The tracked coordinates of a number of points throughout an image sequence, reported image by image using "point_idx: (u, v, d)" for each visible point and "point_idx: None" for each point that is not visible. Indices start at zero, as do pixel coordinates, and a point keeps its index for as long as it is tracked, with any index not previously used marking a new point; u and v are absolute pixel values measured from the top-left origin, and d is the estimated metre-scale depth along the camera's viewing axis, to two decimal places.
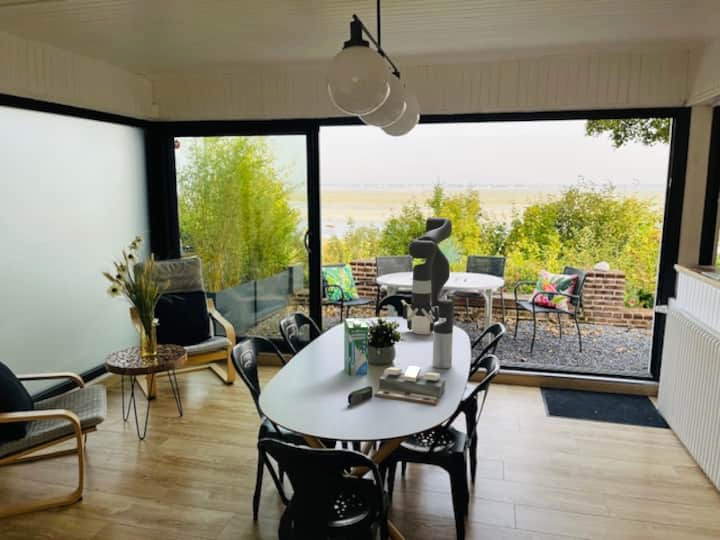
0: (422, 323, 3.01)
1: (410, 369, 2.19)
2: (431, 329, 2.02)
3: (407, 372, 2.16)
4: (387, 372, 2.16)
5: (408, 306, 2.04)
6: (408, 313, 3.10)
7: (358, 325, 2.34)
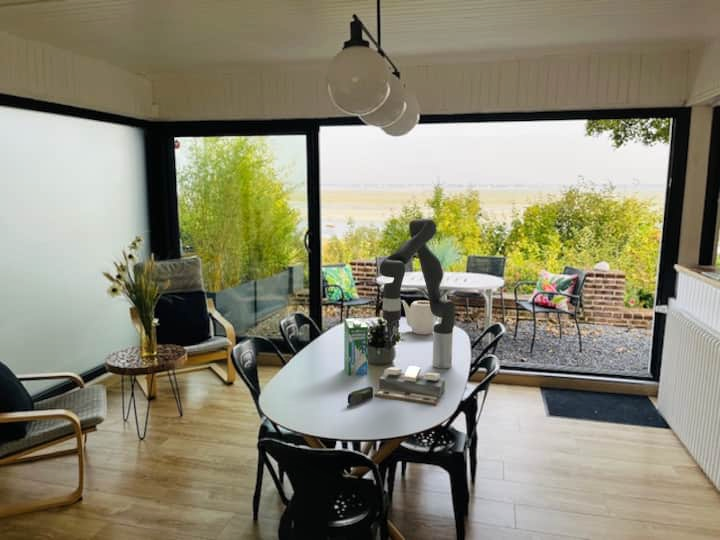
0: (422, 323, 3.01)
1: (410, 369, 2.19)
2: None
3: (407, 372, 2.16)
4: (387, 372, 2.16)
5: None
6: (408, 313, 3.10)
7: (358, 325, 2.34)
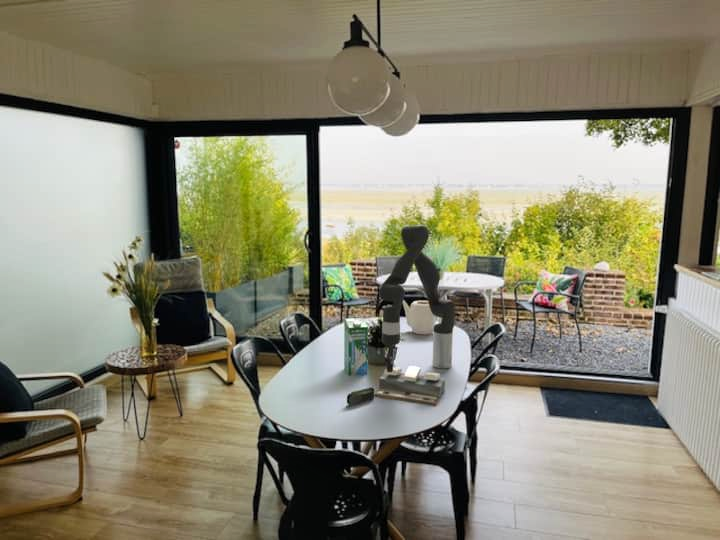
0: (422, 323, 3.01)
1: (410, 369, 2.19)
2: None
3: (407, 372, 2.16)
4: (387, 373, 2.16)
5: (388, 353, 2.10)
6: (408, 313, 3.10)
7: (358, 325, 2.34)
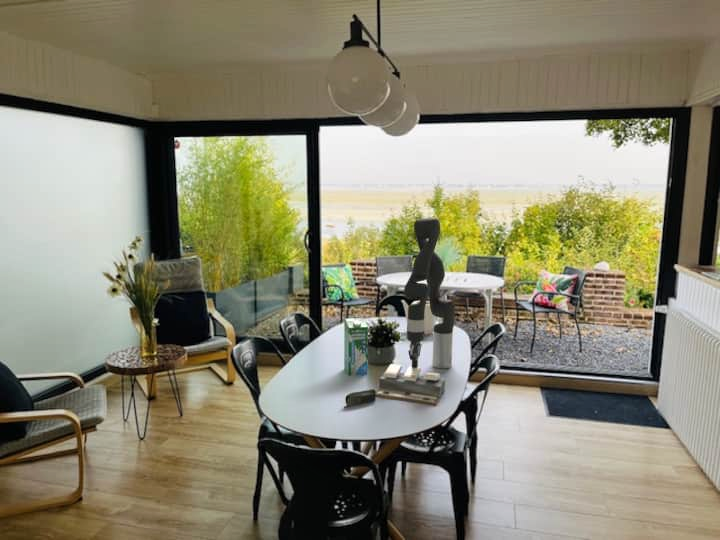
0: None
1: (410, 369, 2.19)
2: None
3: (407, 372, 2.16)
4: (387, 376, 2.16)
5: (413, 350, 2.15)
6: None
7: (358, 325, 2.34)
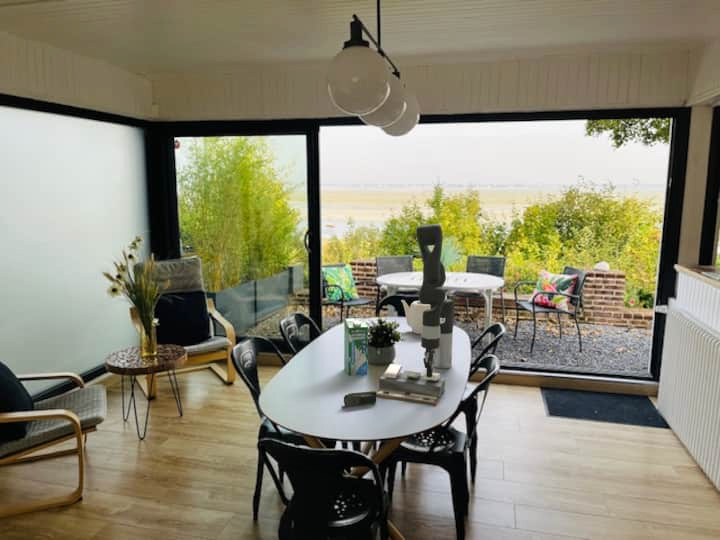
0: None
1: None
2: None
3: None
4: (387, 376, 2.16)
5: (428, 357, 2.04)
6: (408, 313, 3.10)
7: (358, 325, 2.34)
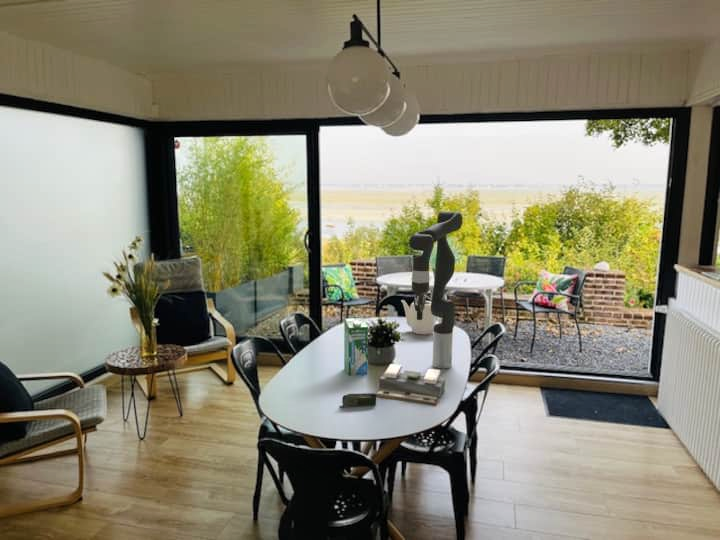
0: (422, 323, 3.01)
1: None
2: None
3: None
4: (387, 376, 2.16)
5: (418, 300, 2.17)
6: (408, 313, 3.10)
7: (358, 325, 2.34)
